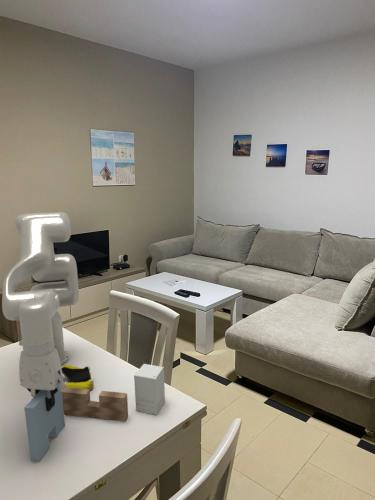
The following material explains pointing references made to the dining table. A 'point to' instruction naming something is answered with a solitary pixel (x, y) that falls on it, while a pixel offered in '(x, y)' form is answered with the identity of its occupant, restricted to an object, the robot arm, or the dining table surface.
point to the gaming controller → (77, 377)
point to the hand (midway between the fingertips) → (45, 407)
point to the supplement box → (149, 389)
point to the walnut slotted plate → (95, 404)
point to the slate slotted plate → (43, 423)
